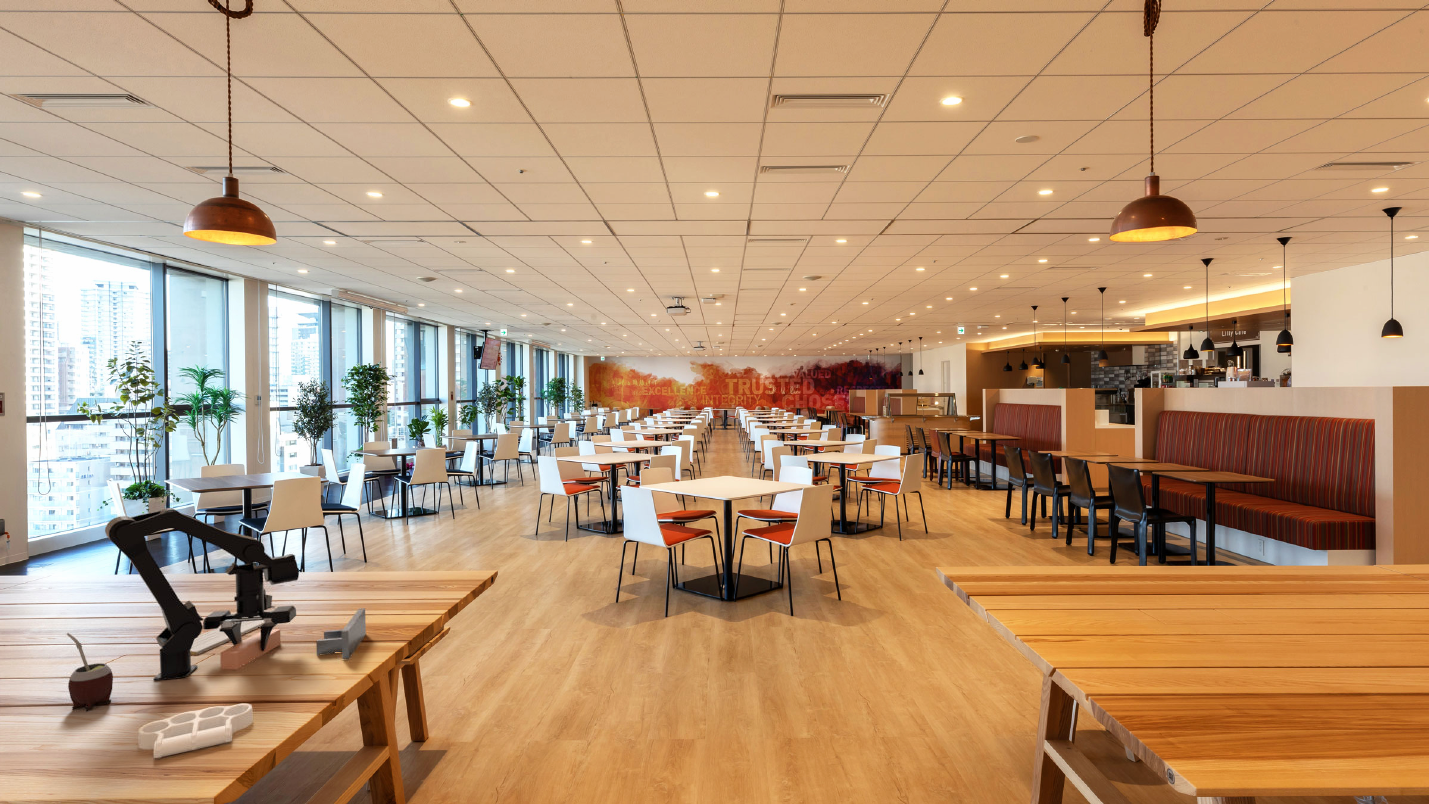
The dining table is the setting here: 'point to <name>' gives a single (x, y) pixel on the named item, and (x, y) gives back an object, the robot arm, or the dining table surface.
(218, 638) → the baseboard
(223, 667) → the rail
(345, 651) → the bracket
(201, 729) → the knuckle duster
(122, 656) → the dining table surface
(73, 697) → the mate gourd
